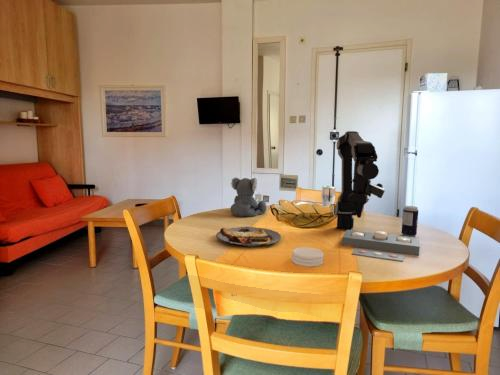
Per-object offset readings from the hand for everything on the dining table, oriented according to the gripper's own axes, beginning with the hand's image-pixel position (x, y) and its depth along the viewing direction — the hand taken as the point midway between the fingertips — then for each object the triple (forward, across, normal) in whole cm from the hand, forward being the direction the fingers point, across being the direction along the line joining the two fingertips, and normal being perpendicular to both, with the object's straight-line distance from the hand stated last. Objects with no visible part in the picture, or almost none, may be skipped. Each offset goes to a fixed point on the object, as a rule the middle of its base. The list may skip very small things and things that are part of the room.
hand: (359, 217), depth 131 cm
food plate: (+10, -15, +39) cm, 43 cm away
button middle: (+8, 0, -8) cm, 11 cm away
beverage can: (+10, +20, -18) cm, 29 cm away
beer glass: (+10, +42, +20) cm, 48 cm away
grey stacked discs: (+10, -29, +12) cm, 33 cm away
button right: (+9, 0, -16) cm, 18 cm away
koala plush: (+10, +26, +59) cm, 65 cm away
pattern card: (+10, -12, -8) cm, 17 cm away
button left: (+9, 0, 0) cm, 9 cm away
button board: (+10, 0, -8) cm, 13 cm away
